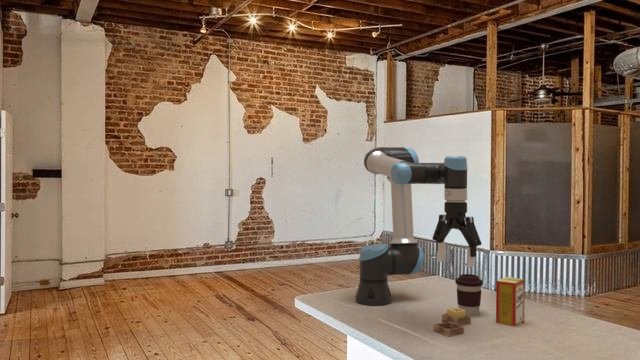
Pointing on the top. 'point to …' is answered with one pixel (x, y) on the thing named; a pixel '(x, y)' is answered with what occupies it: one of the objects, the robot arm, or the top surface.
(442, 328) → the box
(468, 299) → the coffee cup
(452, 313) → the letter cube
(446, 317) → the box
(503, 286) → the baking soda box
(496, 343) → the top surface
